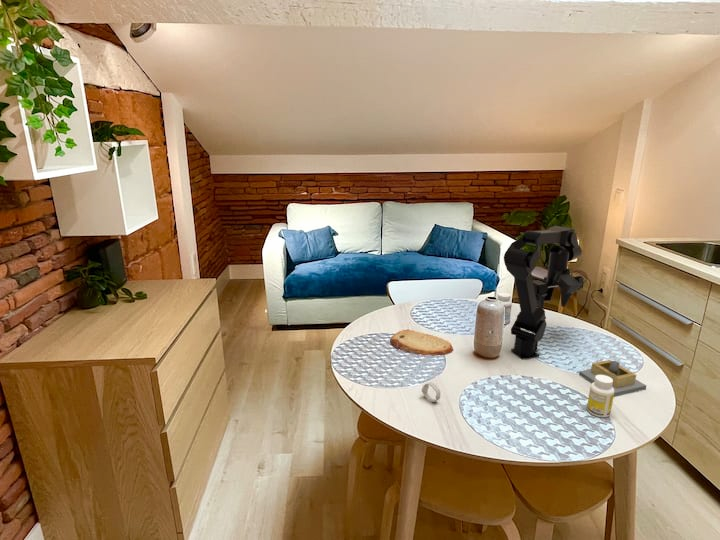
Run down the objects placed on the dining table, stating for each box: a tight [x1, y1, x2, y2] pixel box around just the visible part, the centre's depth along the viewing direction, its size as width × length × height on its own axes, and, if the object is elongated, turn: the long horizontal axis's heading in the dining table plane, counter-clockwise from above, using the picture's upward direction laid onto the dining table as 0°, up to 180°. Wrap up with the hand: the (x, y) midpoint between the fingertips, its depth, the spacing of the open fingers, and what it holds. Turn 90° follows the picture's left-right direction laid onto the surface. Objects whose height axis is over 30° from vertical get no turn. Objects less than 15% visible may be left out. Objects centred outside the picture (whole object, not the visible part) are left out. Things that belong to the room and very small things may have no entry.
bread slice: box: [389, 329, 454, 357], centre depth 148 cm, size 18×18×4 cm
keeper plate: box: [578, 360, 647, 397], centre depth 125 cm, size 12×12×6 cm
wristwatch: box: [421, 381, 441, 403], centre depth 117 cm, size 3×5×5 cm, turn 41°
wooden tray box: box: [590, 359, 637, 388], centre depth 125 cm, size 7×9×3 cm
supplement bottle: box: [586, 375, 615, 418], centre depth 111 cm, size 5×5×10 cm
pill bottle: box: [495, 292, 513, 325], centre depth 165 cm, size 6×6×11 cm
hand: (551, 308), depth 148 cm, fingers open, 9 cm apart
